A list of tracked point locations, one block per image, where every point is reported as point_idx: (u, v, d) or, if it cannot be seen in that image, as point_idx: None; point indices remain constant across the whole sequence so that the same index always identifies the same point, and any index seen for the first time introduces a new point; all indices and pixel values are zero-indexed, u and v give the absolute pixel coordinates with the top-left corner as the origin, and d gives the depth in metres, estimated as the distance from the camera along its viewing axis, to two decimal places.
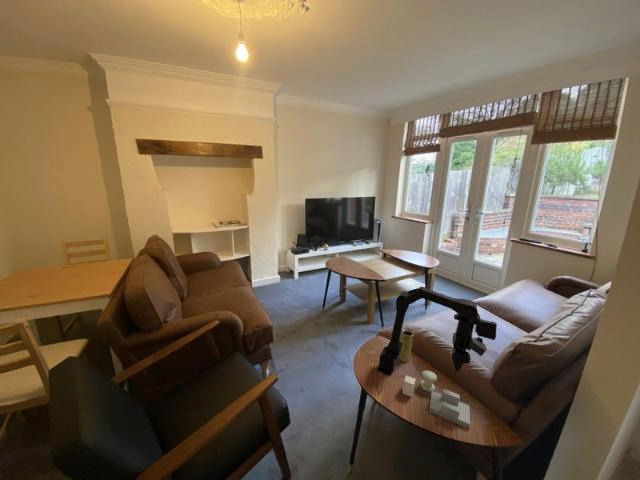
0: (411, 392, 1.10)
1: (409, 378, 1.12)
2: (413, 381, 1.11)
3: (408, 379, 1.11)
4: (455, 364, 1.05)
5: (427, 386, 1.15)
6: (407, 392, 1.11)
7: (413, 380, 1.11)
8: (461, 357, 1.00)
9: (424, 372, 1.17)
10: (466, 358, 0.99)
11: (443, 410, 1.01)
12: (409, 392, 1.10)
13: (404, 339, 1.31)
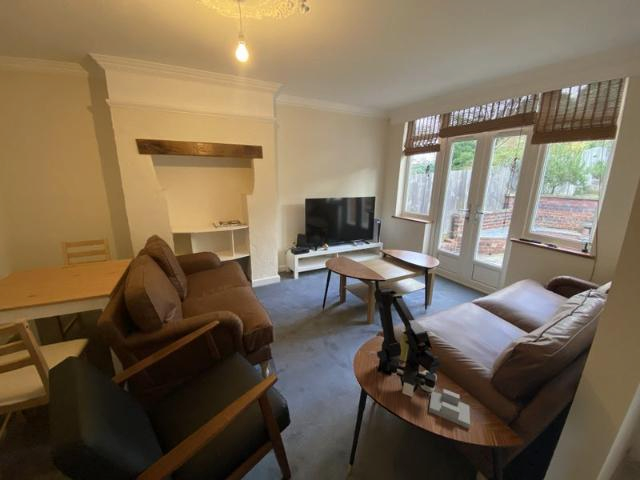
0: (411, 392, 1.10)
1: None
2: None
3: None
4: None
5: (427, 386, 1.15)
6: (407, 392, 1.11)
7: None
8: (389, 362, 1.14)
9: (424, 372, 1.17)
10: (388, 364, 1.13)
11: (443, 410, 1.01)
12: (409, 392, 1.10)
13: (404, 339, 1.31)
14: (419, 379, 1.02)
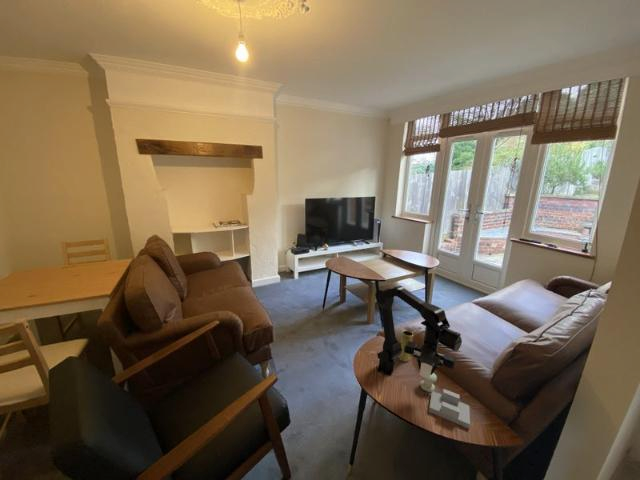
0: (429, 374, 1.06)
1: None
2: None
3: None
4: None
5: (427, 386, 1.15)
6: (424, 374, 1.07)
7: None
8: None
9: None
10: (405, 346, 1.10)
11: (443, 410, 1.01)
12: (427, 374, 1.07)
13: (404, 339, 1.31)
14: (438, 359, 0.99)
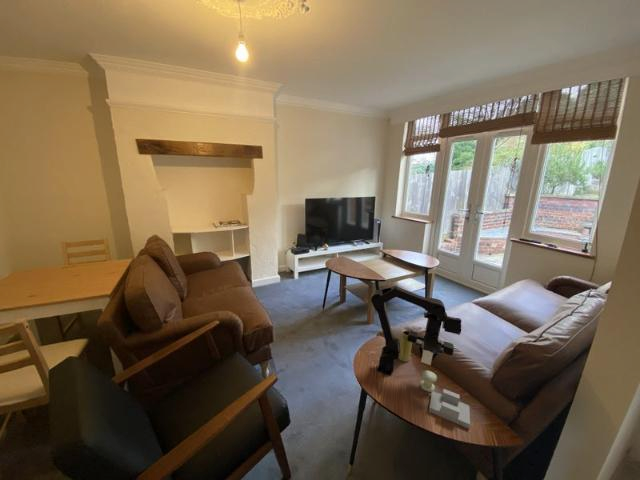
0: (430, 360, 1.16)
1: None
2: None
3: None
4: None
5: (427, 386, 1.15)
6: (426, 361, 1.17)
7: None
8: None
9: (424, 372, 1.17)
10: (408, 335, 1.19)
11: (443, 410, 1.01)
12: (428, 360, 1.16)
13: (404, 339, 1.31)
14: (439, 346, 1.08)
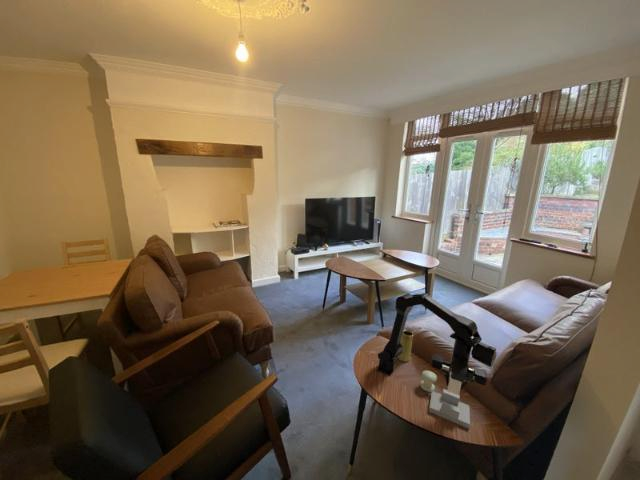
0: (458, 390, 1.00)
1: None
2: None
3: None
4: None
5: (427, 386, 1.15)
6: (453, 390, 1.01)
7: None
8: (432, 357, 1.05)
9: (424, 372, 1.17)
10: None
11: (443, 410, 1.01)
12: (456, 390, 1.00)
13: (404, 339, 1.31)
14: (471, 375, 0.92)
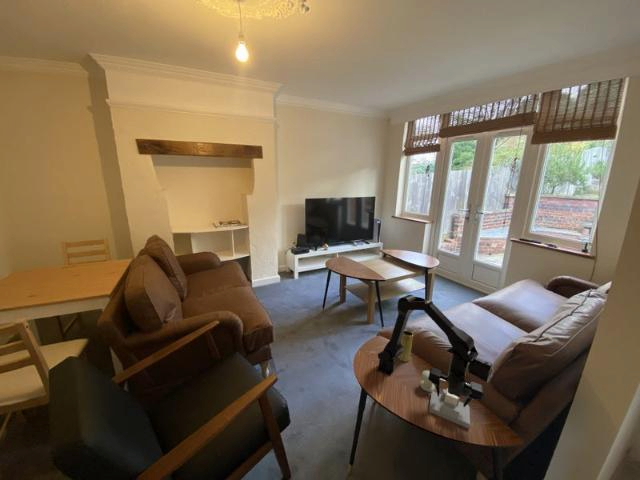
0: None
1: None
2: None
3: None
4: None
5: (427, 386, 1.15)
6: None
7: None
8: None
9: (424, 372, 1.17)
10: (429, 373, 1.04)
11: (443, 410, 1.01)
12: None
13: (404, 339, 1.31)
14: (467, 390, 0.93)
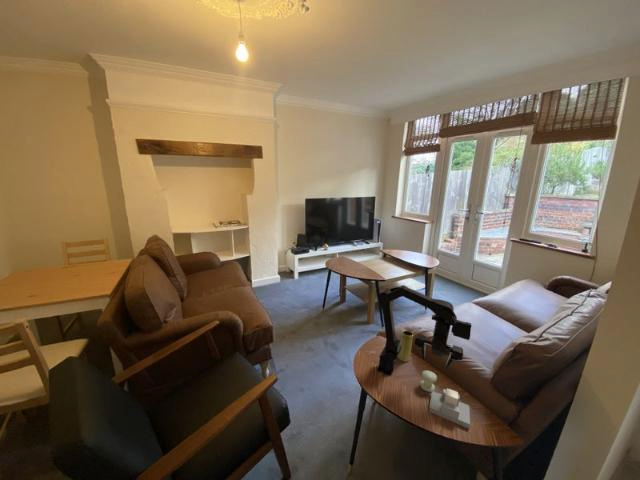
0: None
1: (451, 391, 1.04)
2: (456, 395, 1.02)
3: (450, 392, 1.03)
4: None
5: (427, 386, 1.15)
6: None
7: (456, 394, 1.02)
8: None
9: (424, 372, 1.17)
10: (415, 338, 1.15)
11: (443, 410, 1.01)
12: None
13: (404, 339, 1.31)
14: (448, 350, 1.04)
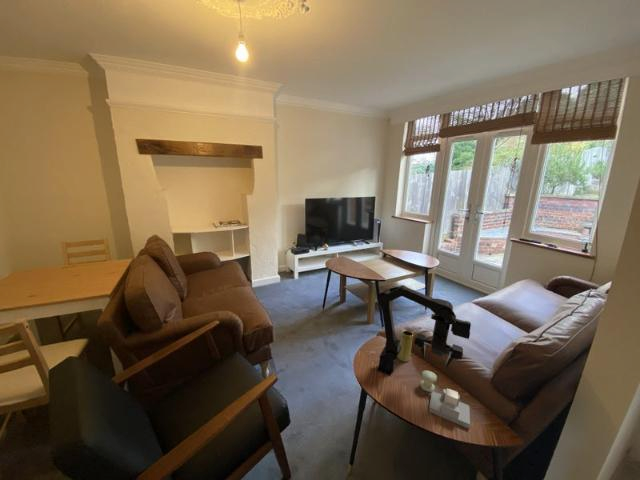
0: None
1: (451, 391, 1.04)
2: (456, 395, 1.02)
3: (450, 392, 1.03)
4: None
5: (427, 386, 1.15)
6: None
7: (456, 394, 1.02)
8: None
9: (424, 372, 1.17)
10: (415, 338, 1.15)
11: (443, 410, 1.01)
12: None
13: (404, 339, 1.31)
14: (448, 349, 1.04)
